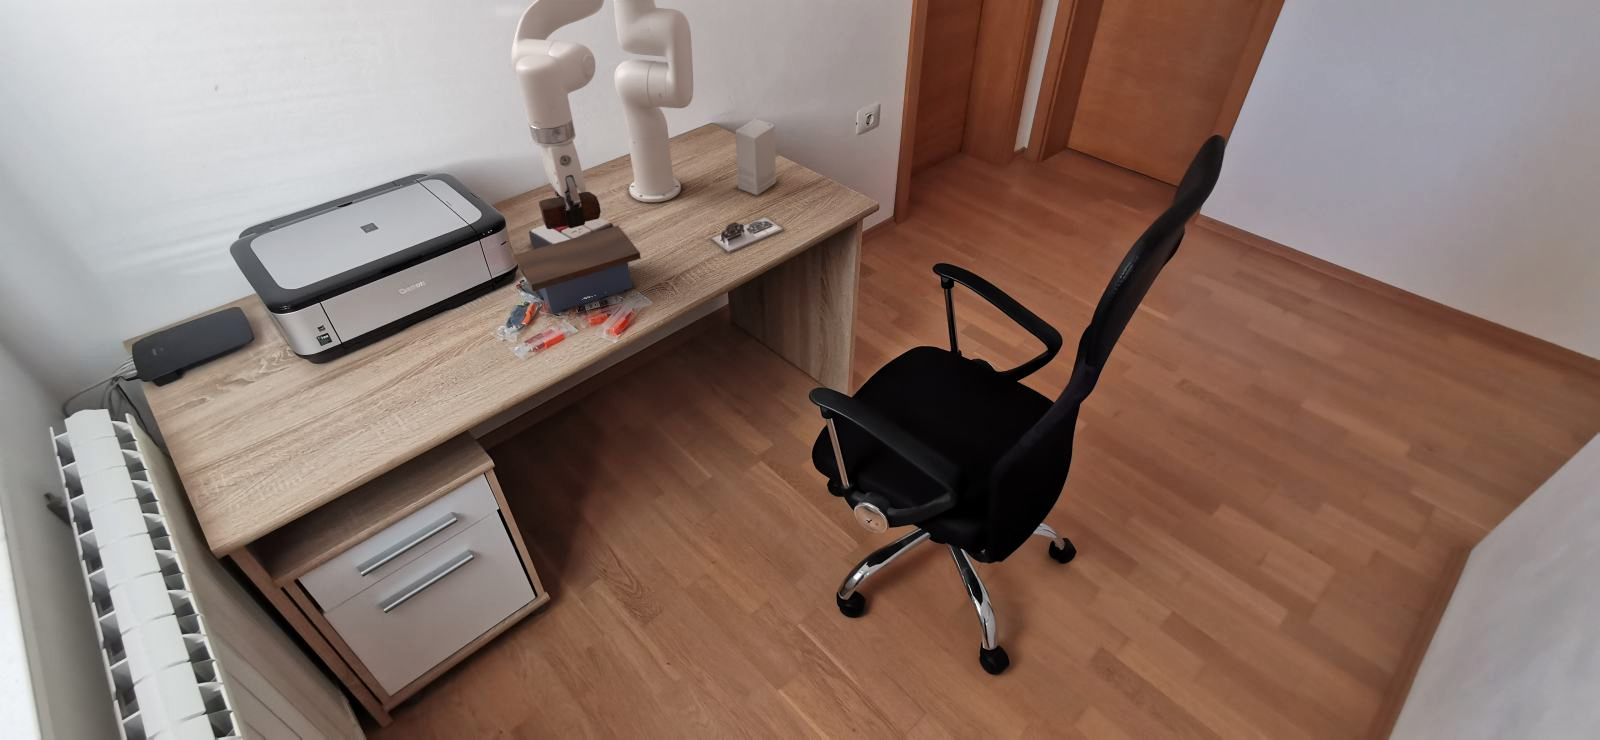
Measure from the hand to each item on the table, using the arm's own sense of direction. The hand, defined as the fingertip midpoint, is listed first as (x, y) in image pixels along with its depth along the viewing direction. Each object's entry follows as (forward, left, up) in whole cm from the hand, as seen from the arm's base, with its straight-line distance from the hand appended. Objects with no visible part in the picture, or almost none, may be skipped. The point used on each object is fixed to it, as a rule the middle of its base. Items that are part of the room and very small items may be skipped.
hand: (572, 219), depth 145 cm
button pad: (-19, +3, -16) cm, 25 cm away
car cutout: (-1, +38, -16) cm, 42 cm away
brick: (0, 0, -1) cm, 1 cm away
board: (0, -1, -9) cm, 9 cm away
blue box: (0, -1, -16) cm, 16 cm away
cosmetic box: (-20, +51, -16) cm, 58 cm away
